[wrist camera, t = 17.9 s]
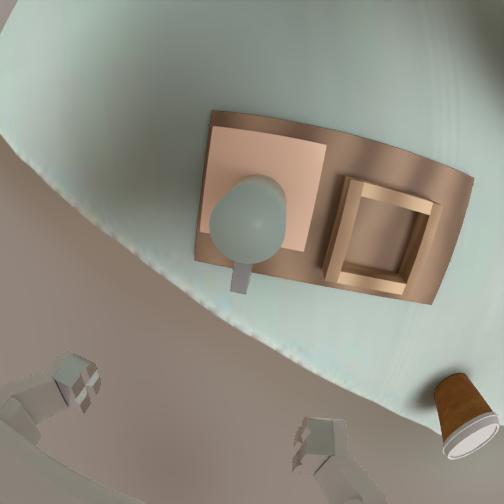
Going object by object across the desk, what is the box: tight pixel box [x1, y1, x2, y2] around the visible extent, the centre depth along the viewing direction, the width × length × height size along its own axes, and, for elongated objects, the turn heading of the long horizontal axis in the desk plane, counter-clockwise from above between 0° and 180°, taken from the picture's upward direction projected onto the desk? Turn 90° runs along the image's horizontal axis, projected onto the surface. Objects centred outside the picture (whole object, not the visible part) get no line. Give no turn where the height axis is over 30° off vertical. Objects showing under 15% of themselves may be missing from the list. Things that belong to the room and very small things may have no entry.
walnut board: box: [194, 110, 474, 305], centre depth 25 cm, size 27×15×4 cm, turn 81°
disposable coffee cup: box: [434, 373, 499, 459], centre depth 28 cm, size 10×10×12 cm
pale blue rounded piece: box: [209, 175, 286, 294], centre depth 23 cm, size 8×5×8 cm, turn 171°
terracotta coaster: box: [200, 126, 327, 252], centre depth 25 cm, size 10×10×1 cm
